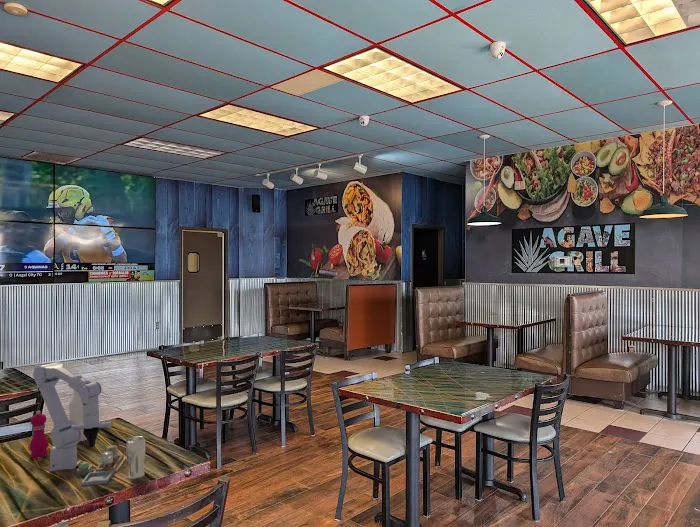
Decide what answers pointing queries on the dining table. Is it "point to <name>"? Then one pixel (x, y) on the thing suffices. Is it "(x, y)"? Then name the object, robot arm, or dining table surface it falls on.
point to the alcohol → (76, 412)
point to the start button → (84, 465)
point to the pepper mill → (38, 436)
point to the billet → (107, 459)
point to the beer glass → (135, 456)
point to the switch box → (84, 471)
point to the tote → (97, 478)
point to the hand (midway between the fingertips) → (92, 446)
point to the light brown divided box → (117, 460)
